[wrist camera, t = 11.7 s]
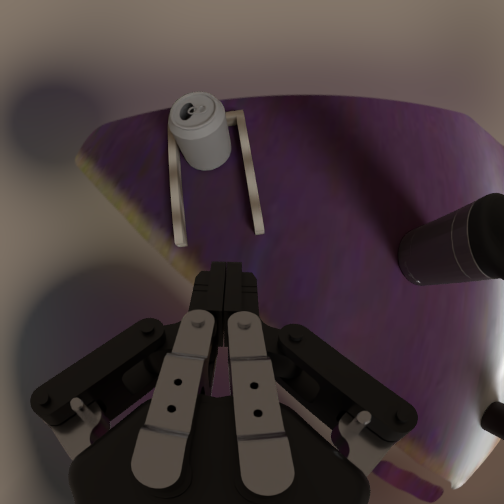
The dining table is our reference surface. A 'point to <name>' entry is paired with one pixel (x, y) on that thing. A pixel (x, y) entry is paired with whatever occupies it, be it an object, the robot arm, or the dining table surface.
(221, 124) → the can
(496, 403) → the bottle
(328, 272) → the dining table surface
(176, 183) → the wooden frame
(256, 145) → the dining table surface
